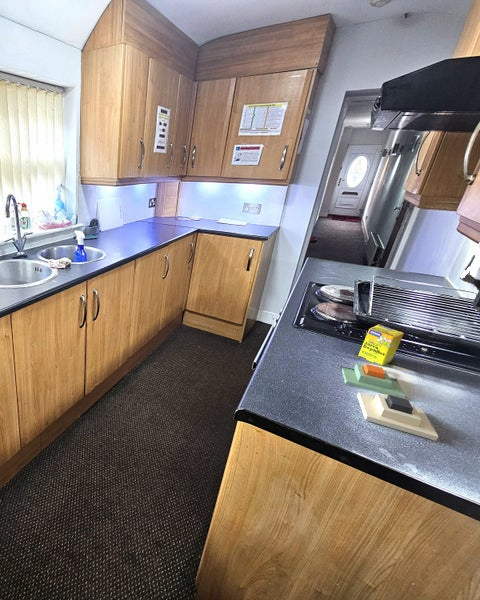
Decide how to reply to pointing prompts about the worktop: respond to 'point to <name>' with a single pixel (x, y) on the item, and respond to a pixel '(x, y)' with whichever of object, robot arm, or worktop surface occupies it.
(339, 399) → the worktop surface
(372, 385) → the green flat stepped block
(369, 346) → the supplement box
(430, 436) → the cream flat stepped block
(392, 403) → the key
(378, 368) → the key
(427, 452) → the worktop surface
